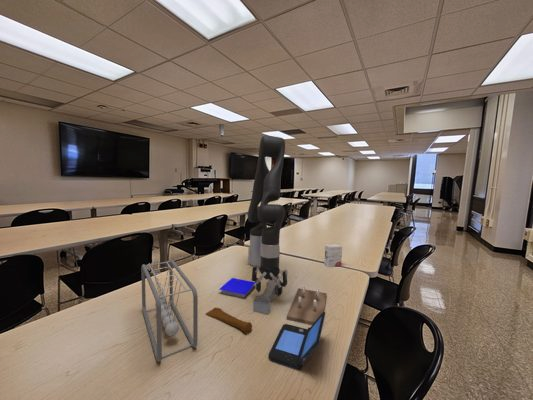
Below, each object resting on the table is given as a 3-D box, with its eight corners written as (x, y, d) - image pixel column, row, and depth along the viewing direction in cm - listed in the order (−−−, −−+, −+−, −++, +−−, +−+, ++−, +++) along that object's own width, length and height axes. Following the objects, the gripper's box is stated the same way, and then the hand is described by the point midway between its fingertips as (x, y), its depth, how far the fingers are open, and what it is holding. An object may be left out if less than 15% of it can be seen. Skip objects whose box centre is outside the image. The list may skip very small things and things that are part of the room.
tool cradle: (286, 319, 80) (287, 305, 80) (298, 290, 101) (298, 279, 100) (321, 327, 76) (322, 312, 76) (326, 295, 97) (326, 284, 97)
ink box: (337, 263, 136) (338, 243, 135) (341, 266, 131) (342, 246, 130) (323, 263, 134) (324, 244, 133) (327, 267, 130) (328, 246, 128)
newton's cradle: (142, 310, 83) (141, 262, 81) (172, 302, 89) (172, 257, 87) (157, 367, 59) (156, 300, 57) (198, 350, 65) (198, 290, 63)
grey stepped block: (253, 311, 85) (253, 300, 84) (269, 288, 103) (269, 279, 102) (267, 314, 83) (267, 303, 82) (281, 290, 101) (281, 281, 101)
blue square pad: (218, 294, 96) (219, 282, 96) (232, 282, 108) (232, 271, 107) (244, 300, 93) (245, 287, 92) (255, 287, 104) (256, 275, 103)
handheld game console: (283, 326, 76) (284, 300, 76) (324, 337, 72) (326, 309, 71) (266, 361, 62) (267, 328, 61) (316, 377, 57) (318, 342, 56)
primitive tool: (204, 315, 82) (204, 305, 82) (216, 308, 86) (216, 299, 86) (245, 337, 71) (246, 326, 71) (256, 328, 75) (256, 318, 75)
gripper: (249, 254, 90) (248, 294, 91) (285, 259, 85) (283, 301, 87) (256, 249, 97) (255, 286, 98) (289, 253, 92) (288, 292, 94)
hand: (268, 293), depth 92 cm, fingers open, 8 cm apart
